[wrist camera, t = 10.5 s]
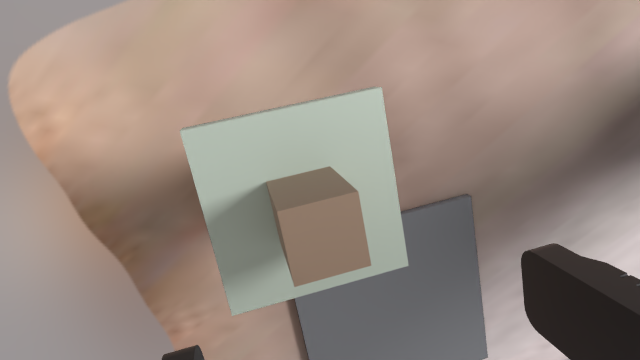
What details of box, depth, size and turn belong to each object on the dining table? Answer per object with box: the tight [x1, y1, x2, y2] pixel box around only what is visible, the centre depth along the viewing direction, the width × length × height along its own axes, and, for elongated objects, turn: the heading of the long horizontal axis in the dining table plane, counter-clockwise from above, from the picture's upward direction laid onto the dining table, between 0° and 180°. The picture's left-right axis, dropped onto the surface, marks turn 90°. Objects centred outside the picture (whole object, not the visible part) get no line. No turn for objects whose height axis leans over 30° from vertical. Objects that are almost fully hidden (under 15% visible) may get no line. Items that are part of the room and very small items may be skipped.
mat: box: [295, 194, 488, 360], centre depth 37 cm, size 16×16×1 cm
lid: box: [180, 87, 409, 316], centre depth 19 cm, size 9×9×6 cm
